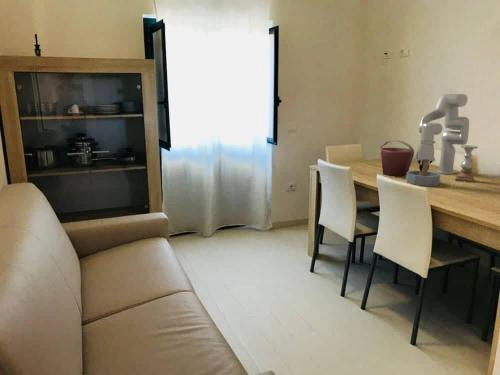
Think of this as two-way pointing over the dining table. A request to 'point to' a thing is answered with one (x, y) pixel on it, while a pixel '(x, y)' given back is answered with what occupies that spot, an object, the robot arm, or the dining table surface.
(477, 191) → the dining table surface
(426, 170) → the brown rectangular block
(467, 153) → the candle holder
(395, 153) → the bucket
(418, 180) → the grey bowl
